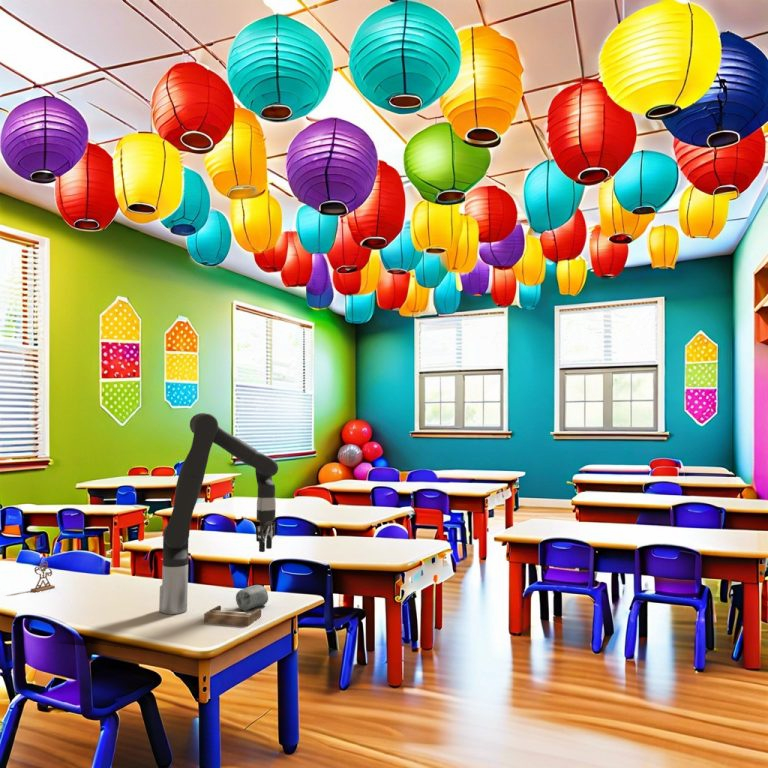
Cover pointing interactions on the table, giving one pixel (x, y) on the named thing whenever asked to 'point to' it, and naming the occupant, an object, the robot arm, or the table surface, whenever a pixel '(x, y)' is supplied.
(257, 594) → the spool
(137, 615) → the table surface
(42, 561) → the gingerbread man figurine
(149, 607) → the table surface
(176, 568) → the robot arm
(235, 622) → the notched board
